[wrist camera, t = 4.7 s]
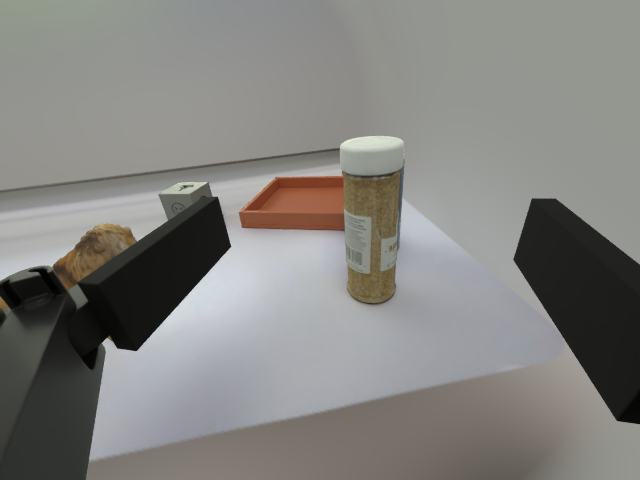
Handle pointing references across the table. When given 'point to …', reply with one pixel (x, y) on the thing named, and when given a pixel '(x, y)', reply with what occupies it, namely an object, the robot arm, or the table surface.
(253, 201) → the tray
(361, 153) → the spice jar
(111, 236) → the lion figurine
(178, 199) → the dice cube
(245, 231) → the table surface
